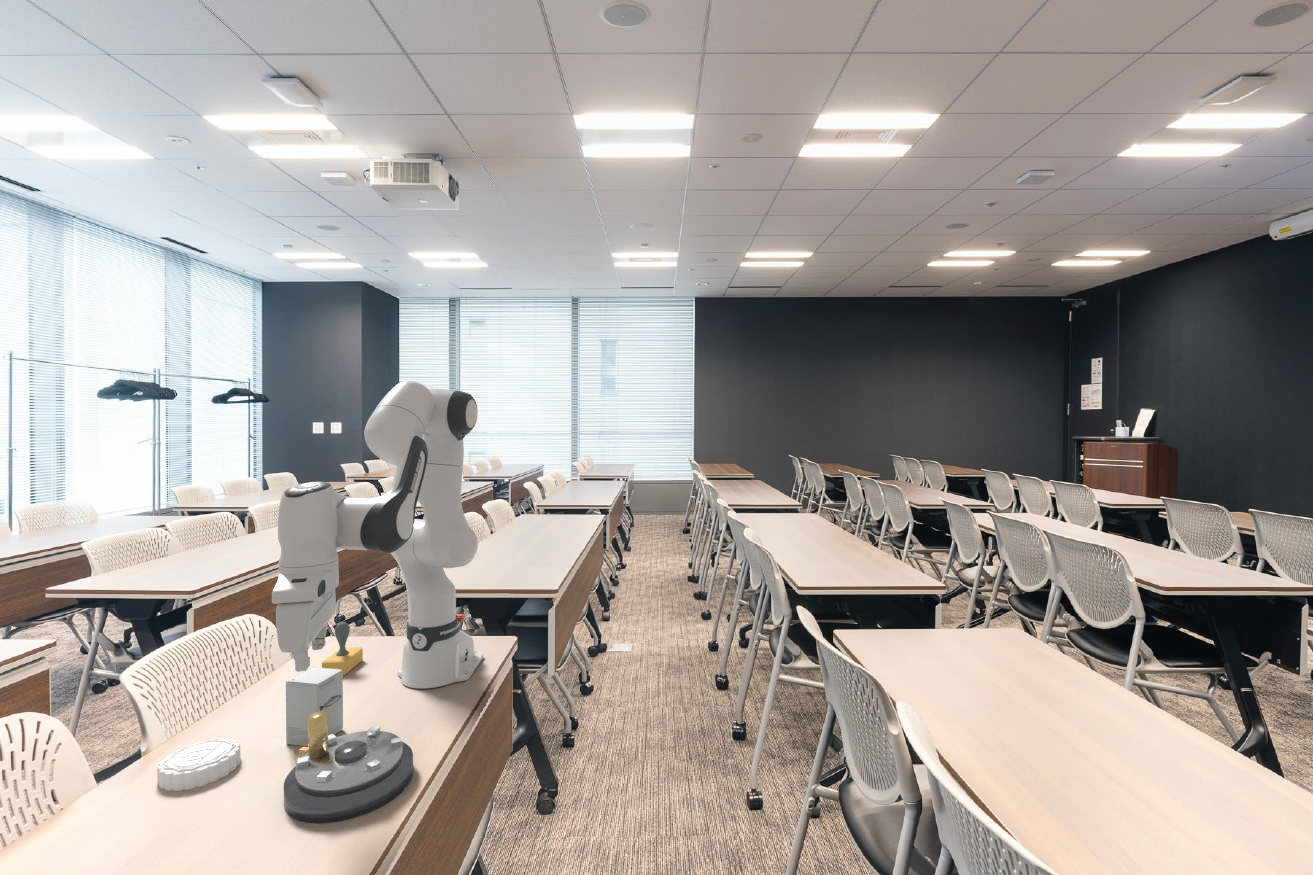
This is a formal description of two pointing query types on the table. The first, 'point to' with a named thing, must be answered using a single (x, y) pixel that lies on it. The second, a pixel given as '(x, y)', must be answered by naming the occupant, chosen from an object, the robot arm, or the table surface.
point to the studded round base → (345, 759)
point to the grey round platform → (346, 795)
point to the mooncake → (198, 764)
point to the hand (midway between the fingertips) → (311, 658)
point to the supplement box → (313, 702)
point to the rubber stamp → (343, 652)
